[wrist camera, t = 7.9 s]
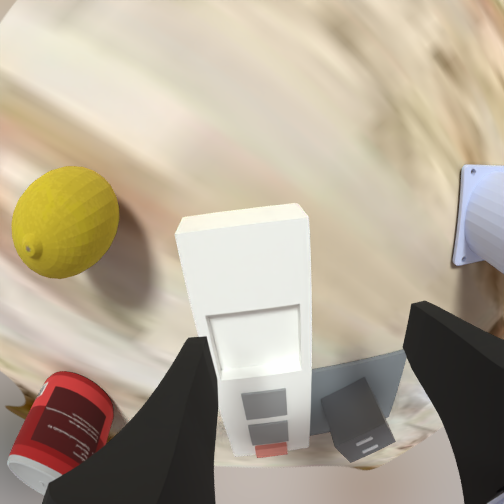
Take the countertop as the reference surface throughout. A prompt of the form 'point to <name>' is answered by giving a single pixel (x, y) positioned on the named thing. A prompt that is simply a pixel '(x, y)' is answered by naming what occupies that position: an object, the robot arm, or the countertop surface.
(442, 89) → the countertop surface
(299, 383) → the strip
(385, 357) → the mat
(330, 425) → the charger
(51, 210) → the lemon
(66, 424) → the canned food
